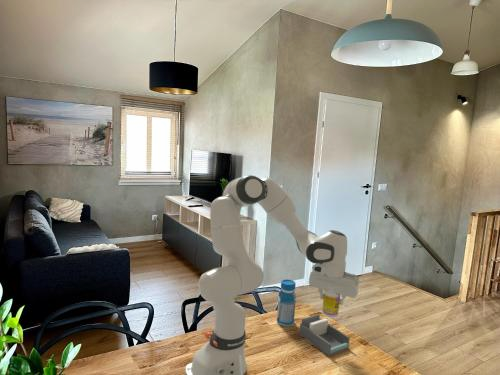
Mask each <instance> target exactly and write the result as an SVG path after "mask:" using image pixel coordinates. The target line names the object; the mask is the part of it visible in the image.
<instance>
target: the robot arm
mask: <svg viewBox="0 0 500 375" xmlns="http://www.w3.org/2000/svg"><path fill="white" fill-rule="evenodd" d="M254 204H259V206H260V207H261V208H262V209H263V210H264V211H265V213H266V214H267V215H268V216H269V217H270V218H271V219H272V220H273V221H274V222H276V223H277V224H281V225H283V226H284V227H285V228H286V229H287V230H288V232H289V233H290V234H291V235H292V236H293V238H294V239H295V243H296V247H297V249H298V251H300V253H302V255H304V257H305V258H306V259H307V260H308V262H310V263H312V264H313V265H312V267H311V272H310V274H309V277H308V284H309V286H310V287H314V288H316V289H318V293H319V295H320V297H319V298H320V299H321V300H323V298H324V292H323V291H325V290H327V291H328V290H329V289H328V285H329V286H332V287H335V290H334V293H337V294H340V296H341V298H340V300H339V303H338V304H339V306H340V305H341V306H342V305H344V300H345V299H346V298H347V297H348V298H352V299H355V298H356V297H357V296H358V292H359V287H358V286H359V284H360V279H359V276H358V275H357V274H354V273H351V272H350V273H349V272H346V267H347V262H346V257H347V254H348V238H347V236H346V234H345V233H343V232H340V231H338V230H334V229H332V230H331V229H330V230H328V231H326V232H325V233H324V234H323V235H321V236H318V235H317V234H316V233H314V232H312V231H310V230H308V229H307V228H306V227H305V226H304V224H303V222H301V221H300V219H299V218H298V217H297V215H296V210H297V209H296V205H295V204H294V202H293V200H292V198H291V197H290V196H289V195H288V193H287V192H286V191H285V189H283V188H282V187H281V186H280V185H279V184H278V183H277V182H276V181H275V180H274V179H273V178H271V177H263V178H260V177H257V176H255V175H252V174H251V175H244V176H240V177H236V178H235V179H232V180H231V181H229V182H228V183H227V184H226V185H225V186H224V187H223V190H222V193H221V196H219V197H216V198H215V199H214V200H213V201H212V202H211V204H210V216H209V218H210V220H209V221H210V223H209V224H210V233H211V242H212V248H213V251H214V252H215V253H216V254H218V255H220V256H223V257H224V258H225V260H226V264H227V265H225V266H220V267H215V268H212V269H210V270H207V271H206V272H203V273H202V274H201V276H200V277H199V280H198V286H197V287H198V291H199V295H200V296H201V297H202V298H203V299H204V300H205V301H207V302H209V303H210V305H211V306H212V309H213V312H214V329H213V331H212V332H211V333H210V331H208V330H207V331H205V332H204V336H205V338H206V339H208V341H207V342H205V343H204V345H202V347H200V348H199V349H198V350H197V351H196V352H195V353H194V355H193V357H192V362H190V363H188V364H186V366H185V369H184V370H185V371H184V372H185V375H245V374H246V372H247V368H248V366H247V362H246V355H245V344H246V330H245V329H246V328H245V326H246V311H245V309H244V307H243V306H241V304H239V303H237V302H236V300H235V299H236V297H238V296H241V295H244V294H248V293H251V292H253V291H256V289H258V288H260V287H261V286H262V284H263V282H264V271H263V269H262V267H261V265H259V264H258V263H257V262H255V261H254V260H253V259H252V257H250V255H249V254H248V251H247V250H246V247H245V243H244V236H243V231H242V225H241V218H240V216H241V210H242V208H244V207H248V206H251V205H254Z"/></svg>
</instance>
